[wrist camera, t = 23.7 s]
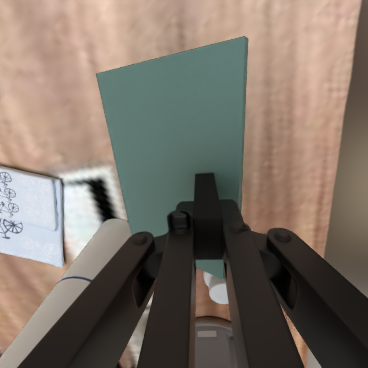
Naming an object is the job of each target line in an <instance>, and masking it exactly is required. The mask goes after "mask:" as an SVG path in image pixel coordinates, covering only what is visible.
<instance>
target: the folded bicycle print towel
mask: <svg viewBox="0 0 368 368" xmlns="http://www.w3.org/2000/svg"><path fill="white" fill-rule="evenodd" d="M62 191H63V188H62V184H61V180H60V179H55V178H51V177H47V176H43V175H38V174H34V173H29V172H25V171H21V170H17V169H13V168H8V167H4V166H0V253H5V254H10V255H14V256H19V257H24V258H28V259H32V260H36V261H40V262H45V263H47V264H51V265H55V266H57V267H59V268H62V267H63V265H65V263H64V256H63V240H62V226H63V222H62V221H63V213H62Z"/></svg>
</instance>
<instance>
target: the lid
mask: <svg viewBox="0 0 368 368" xmlns="http://www.w3.org/2000/svg"><path fill="white" fill-rule="evenodd" d="M247 56H248V38H247V37H245V36H243V37H239V38H235V39H231V40H227V41H223V42H219V43H215V44H211V45H207V46H204V47H200V48H196V49H192V50H188V51H184V52H180V53H176V54H172V55H168V56H164V57H160V58H156V59H152V60H148V61H144V62H140V63H136V64H132V65H128V66H124V67H120V68H117V69H113V70H109V71H105V72H101V73H97V74H96V76H97V81H98V85H99V90H100V94H101V99H102V104H103V108H104V113H105V117H106V122H107V126H108V131H109V136H110V140H111V145H112V149H113V154H114V158H115V163H116V167H117V172H118V177H119V181H120V186H121V190H122V195H123V199H124V204H125V209H126V213H127V218H128V222H129V227H130V231H131V236H132V235H133V234H135V233H137V232H142V231H147V232H150V233H152V234H153V237H157V236H161V235H164V234H166V233H167V232H168V223H167V215H168V214H169V213H170V212H172V211H175V210H176V206H177V204H178V203H179V202H180V201H194V185H195V174H200V173H214V177H215V182H216V186H217V191H218V196H219V200H221V199H233V200H234V201H235V202H237V204H238V208H239V210H240V212H241V199H242V175H243V152H244V128H245V104H246V80H247ZM196 268H198V269H200V270H202V271H205V272H207V273H209V274H211V275H213V276H216V277H218V278H220V279H222V280H224V281H225V278H223V260H196Z"/></svg>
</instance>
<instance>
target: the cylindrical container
mask: <svg viewBox="0 0 368 368" xmlns="http://www.w3.org/2000/svg"><path fill="white" fill-rule="evenodd" d="M130 236H131V231H130V227H129V223H128V222H127V221H125V220H122V219H109V220H107V221H105V222H104V223H103V224H102V225H101V226H100V228H99V229H98V230H97V231H96V233H95V234H94V235H93V237H92V238H91V239H90V241H89V242H88V243H87V245H86V246H85V247H84V249H83V250H82V251H81V253H80V254H79V255H78V256H77V258H76V259H75V260H74V262H73V263H72V264H71V266H70V267H69V268H68V270H67V271H66V272H65V274H64V275H63V276H62V278H61V279H60V280H59V281H58V283H57V284H56V285H55V287H54V288H53V289H52V291H51V292H50V293H49V295H48V296H47V297H46V299H45V300H44V301H43V303H42V304H41V305H40V306H39V308H38V309H37V310H36V312H35V313H34V314H33V316H32V317H31V318H30V320H29V321H28V322H27V324H26V325H25V326H24V327H23V329H22V330H21V331H20V333H19V334H18V335H17V337H16V338H15V339H14V341H13V342H12V343H11V345H10V346H9V347H8V349H7V350H6V351H5V352H4V354H3V355H2V356H1V358H0V368H17V367H18V366H19V365H20V363H21V362H22V361H23V360H24V359H25V358H26V357H27V355H28V354H29V353H30V352H31V351H32V350H33V348H34V347H35V346H36V345H37V344H38V343H39V341H40V340H41V339H42V338H43V337H44V336H45V335H46V333H47V332H48V331H49V330H50V329H51V328H52V326H53V325H54V324H55V323H56V322H57V321H58V319H59V318H60V317H61V316H62V315H63V314H64V313H65V311H66V310H67V309H68V308H69V307H70V306H71V304H72V303H73V302H74V301H75V300H76V299H77V297H78V296H79V295H80V294H81V293H82V292H83V290H84V289H85V288H86V287H87V286H88V285H89V284H90V282H91V281H92V280H93V279H94V278H95V277H96V275H97V274H98V273H99V272H100V271H101V270H102V268H103V267H104V266H105V265H106V264H107V263H108V262H109V260H110V259H111V258H112V257H113V256H114V255H115V253H116V252H117V251H118V250H119V249H120V248H121V246H122V245H123V244H124V243H125V242H126V241H127V239H128V238H129V237H130Z"/></svg>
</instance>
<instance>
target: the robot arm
mask: <svg viewBox="0 0 368 368" xmlns="http://www.w3.org/2000/svg"><path fill="white" fill-rule="evenodd" d="M167 223H168V232H167V233H166V234H164V235H161V236H157V237H153V234H152V233H150V232H147V231H142V232H137V233H135V234H133V235H132V236H130V237H129V238H128V239H127V241H126V242H125V243H124V244H123V245H122V246H121V248H120V249H119V250H118V251H117V252H116V253H115V255H114V256H113V257H112V258H111V259H110V260H109V262H108V263H107V264H106V265H105V266H104V267H103V268H102V270H101V271H100V272H99V273H98V274H97V275H96V277H95V278H94V279H93V280H92V281H91V282H90V284H89V285H88V286H87V287H86V288H85V289H84V290H83V292H82V293H81V294H80V295H79V296H78V297H77V299H76V300H75V301H74V302H73V303H72V304H71V306H70V307H69V308H68V309H67V310H66V311H65V313H64V314H63V315H62V316H61V317H60V318H59V319H58V321H57V322H56V323H55V324H54V325H53V326H52V328H51V329H50V330H49V331H48V332H47V333H46V335H45V336H44V337H43V338H42V339H41V340H40V341H39V343H38V344H37V345H36V346H35V347H34V348H33V350H32V351H31V352H30V353H29V354H28V355H27V357H26V358H25V359H24V360H23V361H22V362H21V363H20V365H19V366H18V367H17V368H116V366H117V364H118V362H119V360H120V358H121V356H122V354H123V352H124V350H125V348H126V346H127V344H128V342H129V340H130V338H131V336H132V334H133V332H134V330H135V328H136V326H137V324H138V322H139V320H140V318H141V316H142V314H143V312H144V310H145V308H146V306H147V304H148V302H149V300H150V298H151V296H152V294H153V292H154V295H153V299H152V303H151V308H150V312H149V317H148V321H147V325H146V330H145V334H144V338H143V343H142V347H141V351H140V356H139V360H138V364H137V368H304V365H303V362H302V360H301V357H300V355H299V352H298V350H297V347H296V345H295V342H294V339H293V337H292V334H291V332H290V329H289V327H288V324H287V321H286V319H285V316H284V314H283V311H282V309H281V306H282V308H283V309H284V311H285V312H286V314H287V315H288V317H289V318H290V320H291V321H292V323H293V324H294V326H295V327H296V329H297V330H298V332H299V334H300V335H301V337H302V338H303V340H304V341H305V343H306V344H307V346H308V347H309V349H310V350H311V352H312V353H313V355H314V356H315V358H316V359H317V361H318V362H319V364H320V365H321V367H322V368H368V298H367V297H366V296H365V295H364V294H362V293H361V292H360V291H359V290H358V289H357V288H356V287H355V286H353V285H352V284H351V283H350V282H349V281H348V280H347V279H345V278H344V277H343V276H342V275H341V274H340V273H339V272H338V271H337V270H335V269H334V268H333V267H332V266H331V265H329V263H327V262H326V261H325V260H324V259H323V258H322V257H321V256H320V255H318V254H317V253H316V252H315V251H314V250H313V249H312V248H311V247H309V246H308V245H307V244H306V243H305V242H304V241H303V240H302V239H300V238H299V237H298V236H297V235H296V234H295V233H293V232H292V231H290V230H287V229H283V228H273V229H270V230H269V231H268V232H267V235H266V234H261V233H256V232H254V231H251V229H250V227H249V226H248V225H247V224H245V223H244V221H243V218H242V215H241V212H240V210H239V208H238V204H237V202H235V201H234V200H233V199H221V200H219V196H218V191H217V186H216V182H215V177H214V173H200V174H195V185H194V201H180V202H179V203H178V204H177V206H176V210H175V211H172V212H170V213H169V214H168V215H167ZM196 260H223V278H225V282H226V289H227V296H228V303H229V310H230V318H231V322H229V321H226V320H224V319H220V318H215V317H201V318H196V319H195V312H196ZM279 303H280V304H279ZM280 305H281V306H280Z"/></svg>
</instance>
